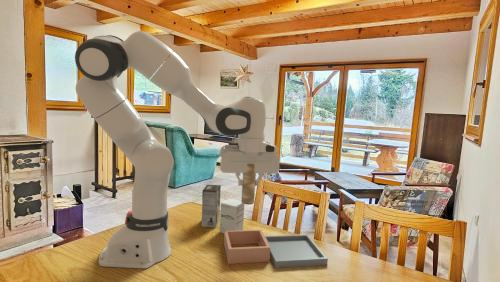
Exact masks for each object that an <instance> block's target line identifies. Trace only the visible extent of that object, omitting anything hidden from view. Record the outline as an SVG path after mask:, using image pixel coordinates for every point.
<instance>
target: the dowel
mask: <svg viewBox="0 0 500 282" xmlns="http://www.w3.org/2000/svg"><path fill="white" fill-rule="evenodd" d="M254 166H255V164H247V172H246V173H242V180H243V186H241V200H240V201H241V202H242V203H243V204H244V205H248V206H249V205H254V204H255V194H256V193H255V192H256V186H255V180H256V179H257V178H256V177H257V173H254Z"/></svg>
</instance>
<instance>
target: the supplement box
mask: <svg viewBox="0 0 500 282" xmlns="http://www.w3.org/2000/svg"><path fill="white" fill-rule="evenodd" d="M244 217H245V204H243V203H242V202H241V200H238V199H234V198H228V199H226V200H224V201H221V202H220V219H219V233H221V234H224V233H225V231H230V230H244Z"/></svg>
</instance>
